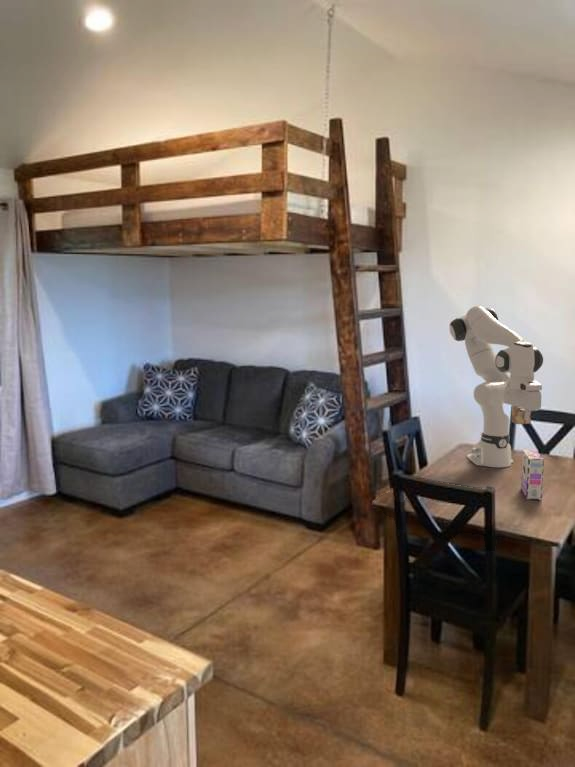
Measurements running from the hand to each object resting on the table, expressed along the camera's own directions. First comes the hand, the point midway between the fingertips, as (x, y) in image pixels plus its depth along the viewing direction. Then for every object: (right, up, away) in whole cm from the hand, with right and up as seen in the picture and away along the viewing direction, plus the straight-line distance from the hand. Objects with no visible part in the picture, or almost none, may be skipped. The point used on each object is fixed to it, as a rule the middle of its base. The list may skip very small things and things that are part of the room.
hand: (521, 418), depth 244 cm
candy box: (+4, -30, +2) cm, 31 cm away
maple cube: (0, -2, 0) cm, 2 cm away
